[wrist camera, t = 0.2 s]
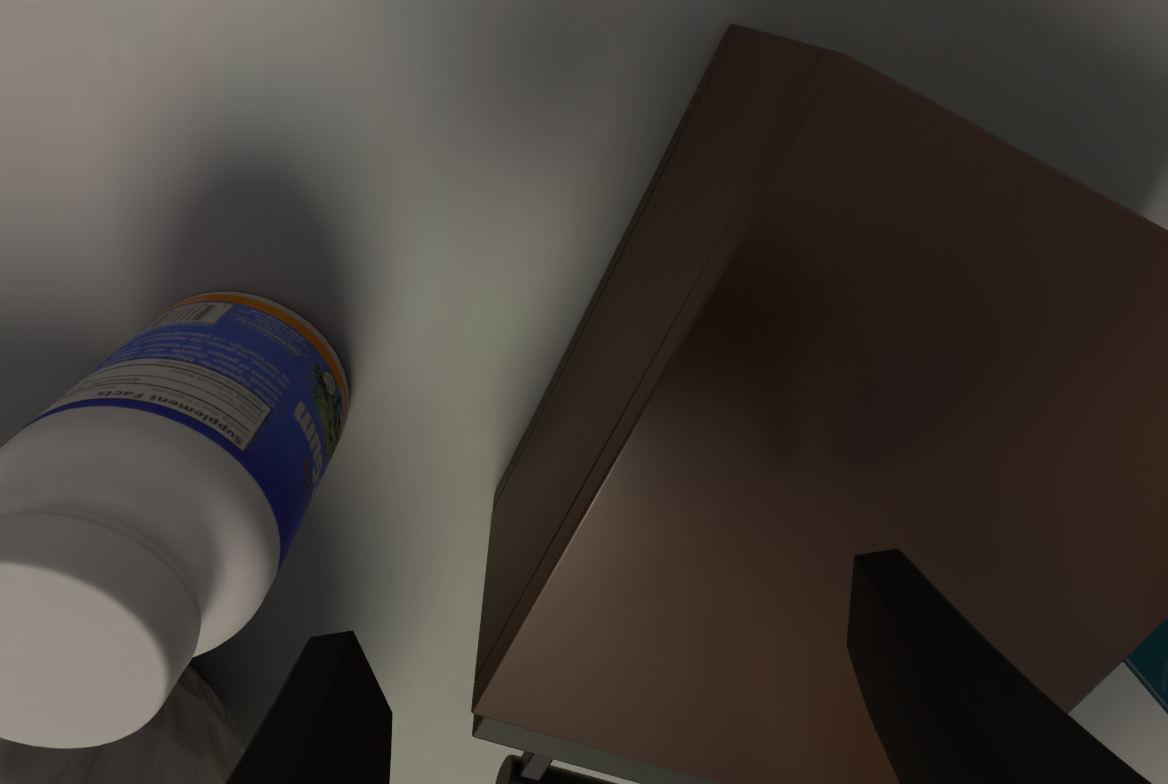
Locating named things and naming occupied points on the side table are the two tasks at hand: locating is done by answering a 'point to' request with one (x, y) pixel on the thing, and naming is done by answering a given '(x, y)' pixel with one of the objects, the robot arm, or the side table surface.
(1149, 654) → the pill bottle
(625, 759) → the drawer
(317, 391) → the pill bottle
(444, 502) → the side table surface
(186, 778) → the vase
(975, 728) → the robot arm
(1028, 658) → the cabinet
